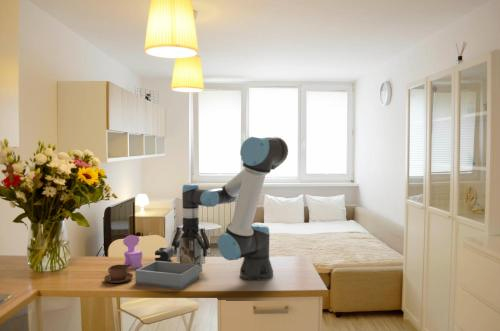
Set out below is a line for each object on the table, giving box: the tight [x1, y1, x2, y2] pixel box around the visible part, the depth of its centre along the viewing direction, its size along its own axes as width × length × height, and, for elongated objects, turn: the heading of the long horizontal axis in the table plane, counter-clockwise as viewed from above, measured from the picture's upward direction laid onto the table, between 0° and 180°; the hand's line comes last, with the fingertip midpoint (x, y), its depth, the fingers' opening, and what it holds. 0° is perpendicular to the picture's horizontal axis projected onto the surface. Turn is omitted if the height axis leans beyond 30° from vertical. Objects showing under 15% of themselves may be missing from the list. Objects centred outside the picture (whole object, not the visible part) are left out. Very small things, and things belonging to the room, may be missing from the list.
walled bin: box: [134, 260, 200, 290], centre depth 181 cm, size 22×16×6 cm
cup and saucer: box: [103, 264, 134, 284], centre depth 182 cm, size 12×12×6 cm
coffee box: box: [178, 236, 203, 272], centre depth 197 cm, size 9×6×16 cm
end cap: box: [154, 246, 175, 262], centre depth 213 cm, size 10×7×7 cm
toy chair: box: [122, 234, 143, 270], centre depth 204 cm, size 8×9×15 cm
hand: (190, 262), depth 197 cm, fingers open, 12 cm apart
